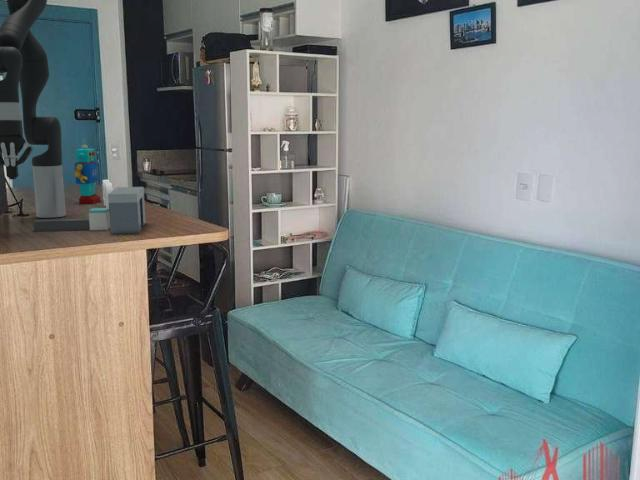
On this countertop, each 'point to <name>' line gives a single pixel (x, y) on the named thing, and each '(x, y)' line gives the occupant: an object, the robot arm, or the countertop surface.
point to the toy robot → (86, 175)
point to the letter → (106, 191)
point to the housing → (126, 210)
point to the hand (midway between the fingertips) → (12, 179)
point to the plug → (76, 222)
